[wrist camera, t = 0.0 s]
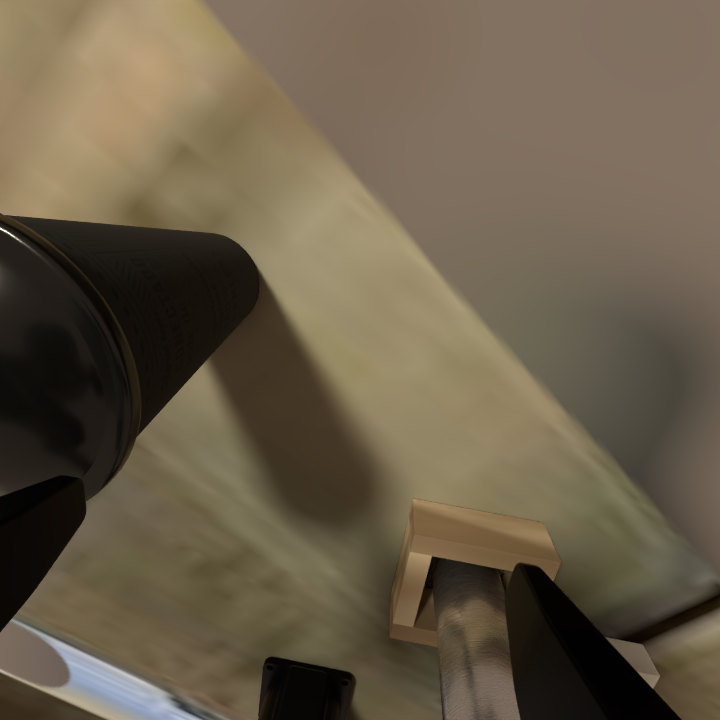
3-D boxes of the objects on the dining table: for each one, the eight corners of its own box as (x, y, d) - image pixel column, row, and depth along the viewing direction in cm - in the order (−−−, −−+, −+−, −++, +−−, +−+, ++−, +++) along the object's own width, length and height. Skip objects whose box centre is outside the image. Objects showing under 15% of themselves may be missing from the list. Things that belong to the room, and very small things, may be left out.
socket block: (508, 618, 28) (520, 663, 25) (390, 595, 28) (389, 637, 25) (543, 522, 25) (561, 562, 22) (413, 498, 26) (414, 534, 23)
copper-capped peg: (492, 597, 27) (563, 908, 15) (415, 582, 28) (425, 877, 15) (513, 536, 26) (612, 831, 14) (431, 521, 26) (456, 797, 14)
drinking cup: (317, 282, 22) (-199, 746, 3) (225, 376, 24) (-394, 972, 5) (202, 167, 20) (-2034, -286, 2) (116, 278, 23) (-1238, 615, 4)
